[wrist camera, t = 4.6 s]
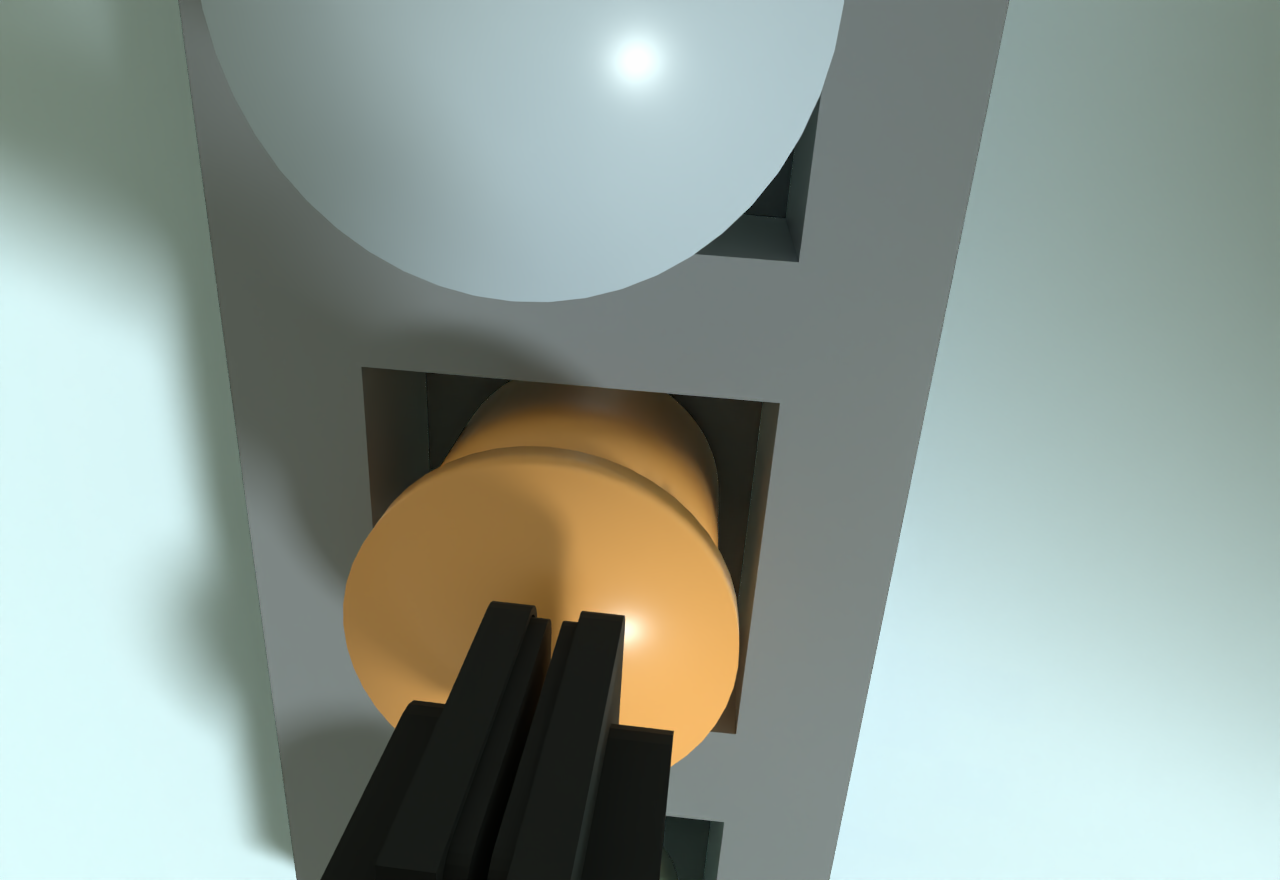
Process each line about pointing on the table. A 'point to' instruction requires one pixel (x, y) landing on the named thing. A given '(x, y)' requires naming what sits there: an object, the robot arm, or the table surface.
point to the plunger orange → (557, 553)
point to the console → (630, 360)
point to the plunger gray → (528, 126)
